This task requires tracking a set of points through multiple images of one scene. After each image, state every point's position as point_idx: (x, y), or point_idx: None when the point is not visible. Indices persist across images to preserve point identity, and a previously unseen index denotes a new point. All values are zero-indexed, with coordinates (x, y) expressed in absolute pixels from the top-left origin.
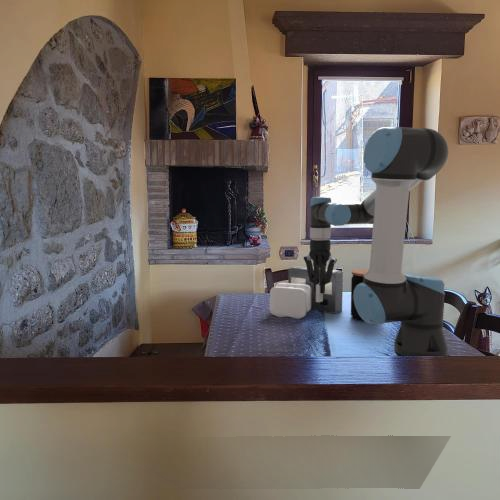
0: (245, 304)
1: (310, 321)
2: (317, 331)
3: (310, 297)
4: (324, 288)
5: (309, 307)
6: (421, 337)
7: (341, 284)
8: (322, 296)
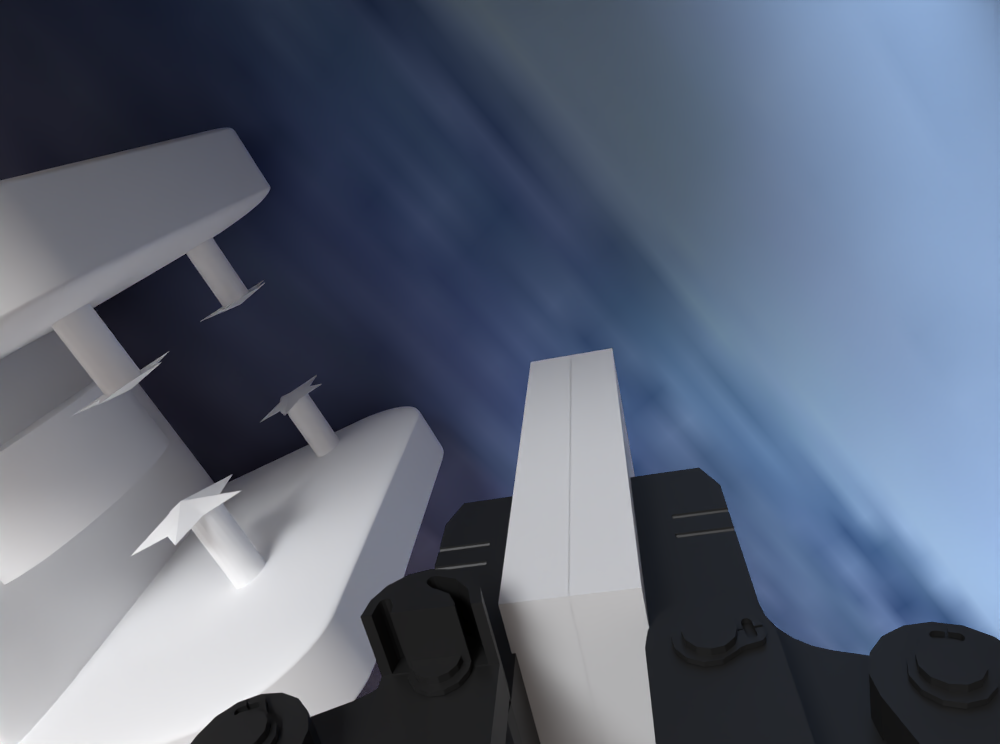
0: None
1: None
2: (856, 643)
3: (169, 221)
4: (741, 567)
5: (254, 203)
6: None
7: None
8: (620, 407)
